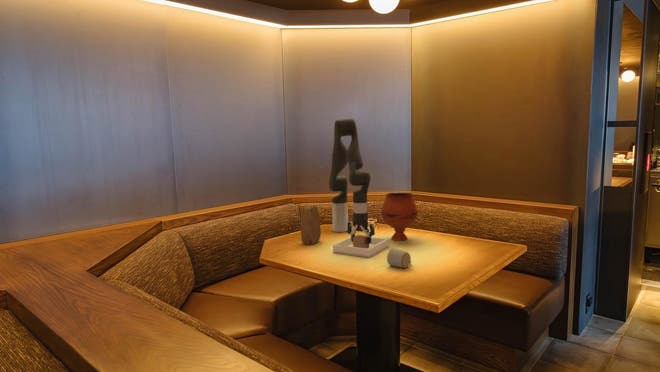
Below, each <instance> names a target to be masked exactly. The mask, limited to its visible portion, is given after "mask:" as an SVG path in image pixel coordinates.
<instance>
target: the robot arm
mask: <svg viewBox="0 0 660 372" xmlns="http://www.w3.org/2000/svg"><path fill="white" fill-rule="evenodd" d="M333 125H334V126H333V129H334V130H333V135H334V136H333V147H332V155H331V156H332V157H331V168H330V174H329V179H328V188H329V191H331V192H340V193H339V194H338V195H336V196H333V197H332V198H331V210H332V231H333V232H335V233H345V232H347V234H348V235H350V237H351V241H352V242H353V237H354V236H355V235H356V233H357V232H361V233H363V234H364V235H367V244H370V243H371V237H374V236H375V233H376V232H375V231H376V230H375V223H369V205H368V192H369V187H370V183H371V175H370V172H368V171H367V170H361V169H362V168H363V166H364V163H363V158H362V156H361V151H360V146H359V136H358V128H357V127H358V126H357V123H356V121H355V119H354V118H352V117H347V118H346V117H345V118H337V119H335V121H334V124H333ZM348 136H351V141H350V144H349V145H348V148H347V146H346V145H345V144H344V142H343V141H342V137H348ZM347 165H348V169H349V170H348V171H349V173H348V179H347V176H346V175H339V174H340V173H341V172H342V171H343V170H344V169H345V168H346V166H347ZM359 170H361V171H359ZM348 181H349V184H350V185H351V186H353V187H356V186H357V187H358V186H359V187H360V186H361V187H360V188H359V189H356V190H354V191H353V192H352V220H353V221H351V220H350V221H349V214H348V210H349V209H348Z"/></svg>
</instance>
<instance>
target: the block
mask: <svg viewBox="0 0 660 372" xmlns="http://www.w3.org/2000/svg"><path fill="white" fill-rule="evenodd" d="M300 212H301V214H300V237H301V242H302V243H303V244H304V245H315V244H317V243H318V242H319V241H320V239H321V234H322V233H321V232H322V230H321V228H322V227H321V217H320V213H319V210H318V205H317V206H316V205H307V206H303V207H302V208H301V209H300Z"/></svg>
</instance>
